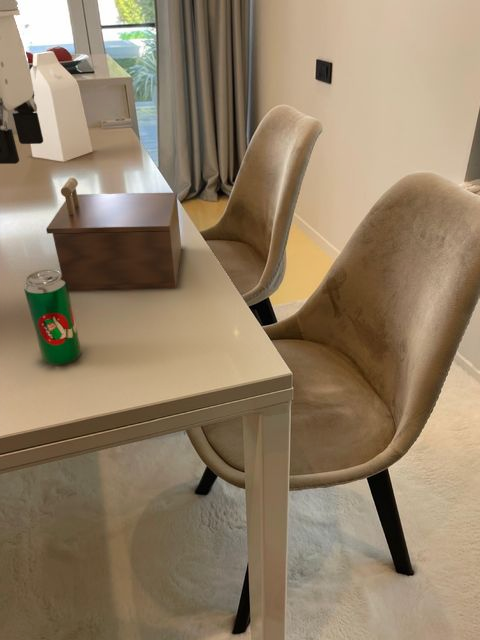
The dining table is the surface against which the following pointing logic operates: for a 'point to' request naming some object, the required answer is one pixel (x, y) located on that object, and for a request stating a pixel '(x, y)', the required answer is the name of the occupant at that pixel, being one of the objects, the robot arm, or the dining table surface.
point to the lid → (112, 212)
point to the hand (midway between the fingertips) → (19, 152)
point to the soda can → (52, 316)
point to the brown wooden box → (120, 258)
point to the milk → (58, 111)
